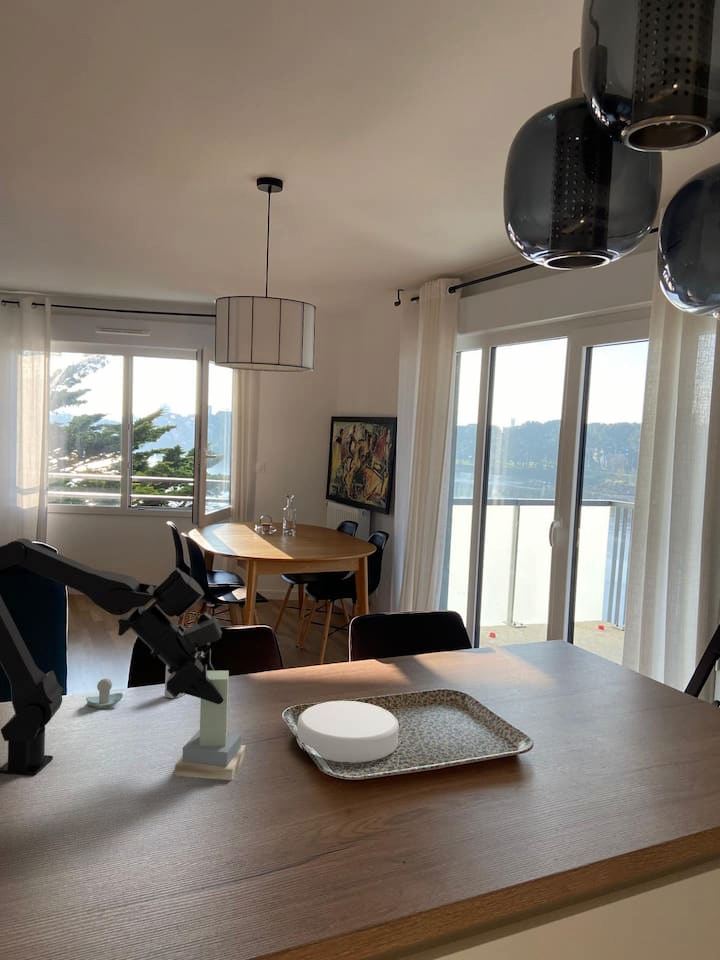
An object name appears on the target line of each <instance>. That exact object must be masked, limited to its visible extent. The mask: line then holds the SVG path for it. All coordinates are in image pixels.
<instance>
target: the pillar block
mask: <svg viewBox="0 0 720 960" xmlns="http://www.w3.org/2000/svg"><path fill="white" fill-rule="evenodd" d="M229 671H230V670H215V671H207V677H208V678H209V680H210V681H211V682H212V684H213V685H214V686H215V688H216V689H217V691H218V692H219V693H220V695H221V696H222V698H223V702H222V703H221V704H216V703H213V702H210V701H207V700H204V699H201V698H200V706H199V707H200V710H199V711H200V712H199V715H200V716H199V730H200V742H199V746H226V738H227V733H228V716H229V714H228V711H229V708H228V707H229V706H228V705H229V683H230V682H229V680H230V679H229V675H230V672H229Z"/></svg>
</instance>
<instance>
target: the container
mask: <svg viewBox="0 0 720 960" xmlns="http://www.w3.org/2000/svg"><path fill="white" fill-rule="evenodd" d="M296 724H297V725H296V737H297V736H298V738H299V739H300V742H299V741H298V739H297V738H296V741H297V744H298V746H299V748H301V749H302V750H303V748H302V745H301V742H303V743H305V744H306V745H308V746H309V747H311V748H313V749H314V750H315V751H316V752H317V753H318V754H319V755H320V756H321V757H322V758H324V759H323V760H327V761H332V762H338V763H339V762H340V763H363V762H365V763H366V762H373V761H375V760H379V759H383V758H386V757H387V756H389V755H391V754H392V753H394V752H395V750H396V749H397V747H399V732H400V731H399V730H400V727H399V721H398V719H397V717H395V716H394V715H393V714H392V712H390V711H388V710H387V709H384V708H383V707H381V706H378V705H375V704H371V703H367V702H362V701H352V700H336V701H335V700H334V701H333V700H332V701H326V702H322V703H317V704H314V705H312V706H310V707H307V708H306V709H305V710H304V711H303V712H302V713H301V714H299V716H298V719H297V723H296ZM322 758H321V759H322Z"/></svg>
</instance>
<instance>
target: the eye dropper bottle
mask: <svg viewBox="0 0 720 960" xmlns="http://www.w3.org/2000/svg"><path fill="white" fill-rule="evenodd" d="M168 668H169V667H168V666H167V665H166V664H165V675H164V676H165V678H164V679H165V680H164V682H165V683H164V697H165V698H168V699H177V698H180V697H182V696H184V695H185V694H184V693H182V694H181V693H180V694H179V695H178V696H177V697H175V698H174V697H173V696H172V695H171V694H170V693H169V692H168V691H167V681H168V678H169V676H170V675H171V674H170V673H169V672H168V671H167V670H168Z"/></svg>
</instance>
